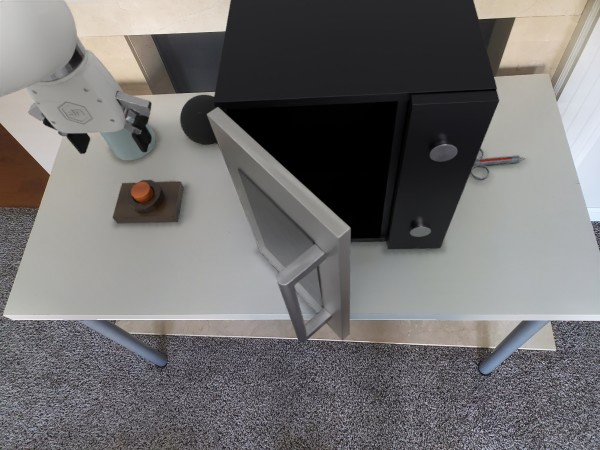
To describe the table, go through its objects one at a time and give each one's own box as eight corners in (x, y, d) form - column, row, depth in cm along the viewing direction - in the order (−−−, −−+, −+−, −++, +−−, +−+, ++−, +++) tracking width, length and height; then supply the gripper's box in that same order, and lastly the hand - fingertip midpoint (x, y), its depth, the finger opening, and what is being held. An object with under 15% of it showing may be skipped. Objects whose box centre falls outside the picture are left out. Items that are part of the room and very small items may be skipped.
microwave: (440, 253, 76) (501, 104, 46) (262, 255, 79) (210, 118, 49) (421, 120, 91) (458, -58, 61) (272, 126, 94) (237, -40, 64)
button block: (177, 222, 84) (170, 211, 81) (117, 223, 86) (107, 212, 82) (184, 187, 88) (177, 175, 85) (126, 189, 90) (117, 177, 86)
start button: (151, 202, 83) (147, 197, 81) (132, 203, 83) (128, 198, 82) (155, 186, 85) (151, 181, 83) (136, 187, 85) (133, 182, 83)
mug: (164, 134, 96) (145, 100, 87) (137, 166, 92) (115, 133, 84) (116, 116, 100) (94, 82, 92) (89, 145, 97) (64, 112, 88)
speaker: (185, 126, 97) (170, 91, 88) (230, 114, 97) (218, 78, 89) (192, 160, 92) (176, 127, 83) (239, 147, 92) (228, 113, 84)
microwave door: (315, 365, 69) (289, 278, 39) (234, 271, 78) (162, 142, 48) (349, 334, 71) (351, 227, 41) (266, 246, 80) (217, 106, 50)
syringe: (538, 177, 82) (542, 171, 80) (440, 185, 83) (441, 180, 82) (526, 144, 86) (529, 138, 84) (432, 153, 87) (433, 147, 85)
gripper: (-30, 79, 52) (55, 167, 66) (112, 73, 50) (166, 164, 65) (-6, 35, 55) (69, 128, 70) (127, 28, 53) (175, 125, 68)
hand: (116, 145), depth 67 cm, fingers open, 9 cm apart
